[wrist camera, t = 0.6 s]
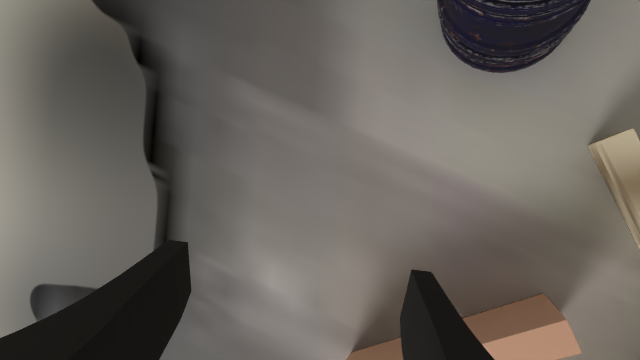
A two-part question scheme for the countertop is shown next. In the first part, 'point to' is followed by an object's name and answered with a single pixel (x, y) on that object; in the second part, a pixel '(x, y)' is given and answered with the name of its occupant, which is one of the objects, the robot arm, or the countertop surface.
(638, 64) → the countertop surface
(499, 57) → the storage jar
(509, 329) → the terracotta slotted plate
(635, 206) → the birch slotted plate
